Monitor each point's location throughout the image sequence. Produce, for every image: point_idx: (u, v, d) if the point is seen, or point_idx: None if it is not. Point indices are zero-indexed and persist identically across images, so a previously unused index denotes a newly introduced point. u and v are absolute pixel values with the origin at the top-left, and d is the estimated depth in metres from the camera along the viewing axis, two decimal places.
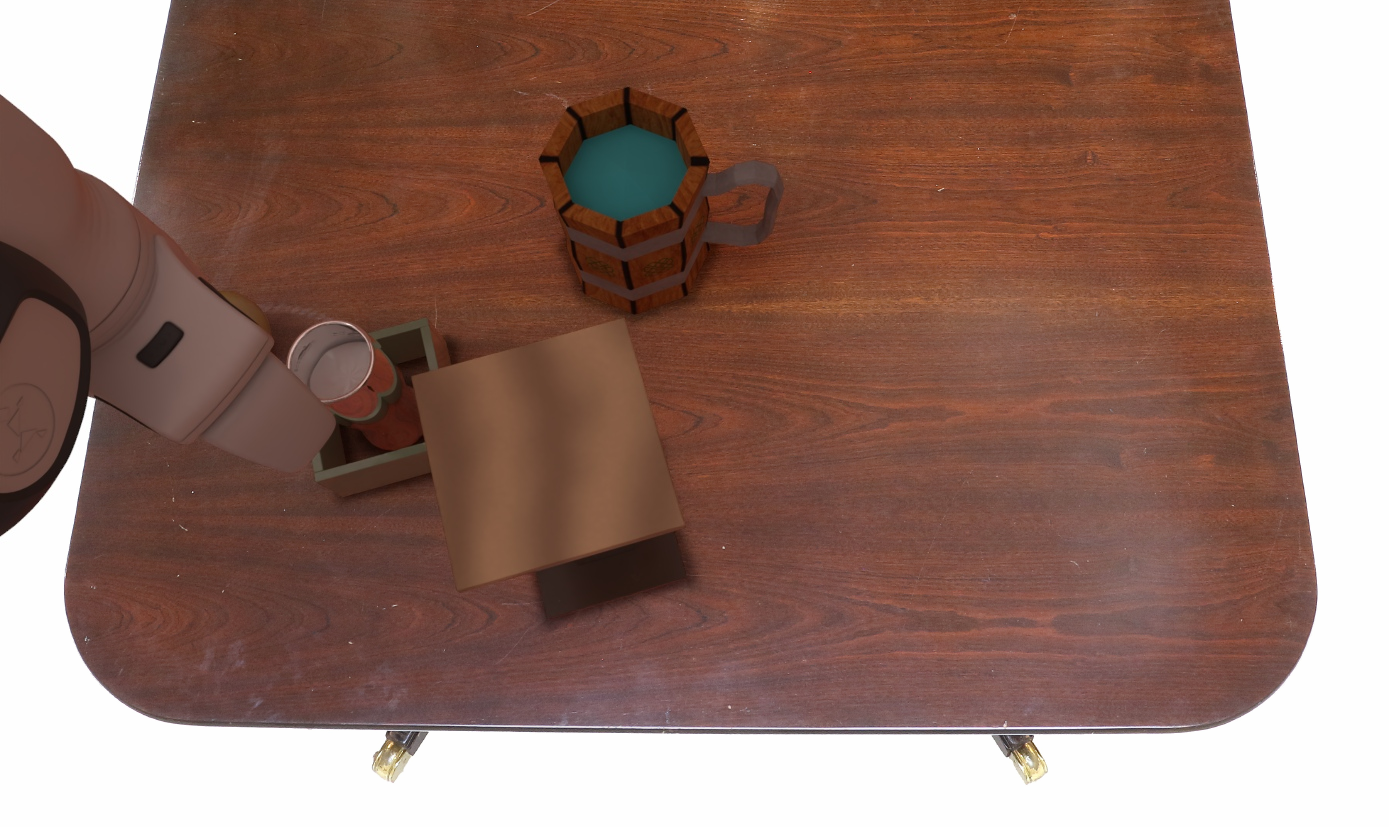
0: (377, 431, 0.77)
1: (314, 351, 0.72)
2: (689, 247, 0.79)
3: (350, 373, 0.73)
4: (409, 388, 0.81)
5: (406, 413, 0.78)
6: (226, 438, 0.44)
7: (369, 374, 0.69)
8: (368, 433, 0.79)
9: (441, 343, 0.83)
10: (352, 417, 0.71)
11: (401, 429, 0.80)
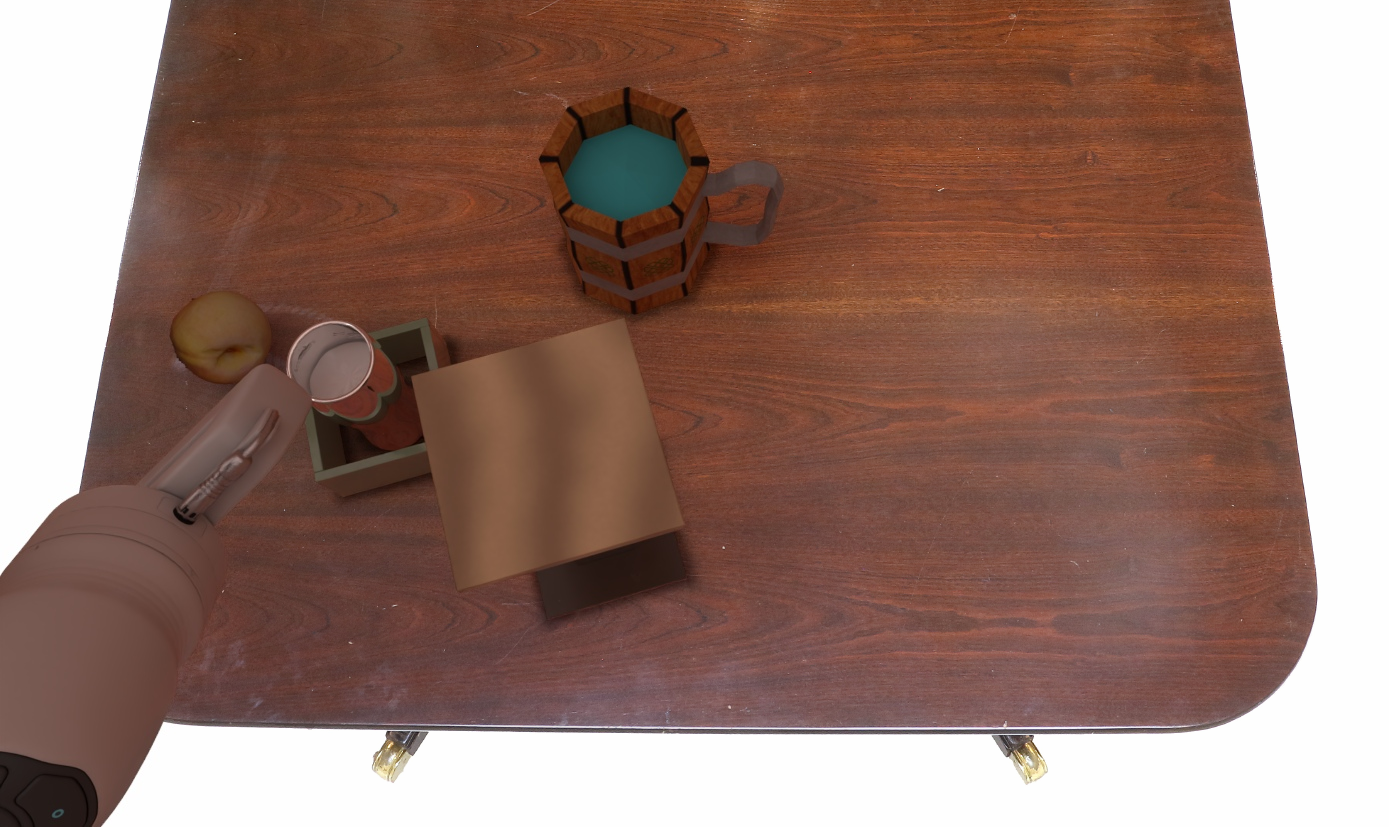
0: (377, 431, 0.77)
1: (314, 351, 0.72)
2: (689, 247, 0.79)
3: (350, 373, 0.73)
4: (409, 388, 0.81)
5: (406, 413, 0.78)
6: None
7: (369, 374, 0.69)
8: (368, 433, 0.79)
9: (441, 343, 0.83)
10: (352, 417, 0.71)
11: (401, 429, 0.80)
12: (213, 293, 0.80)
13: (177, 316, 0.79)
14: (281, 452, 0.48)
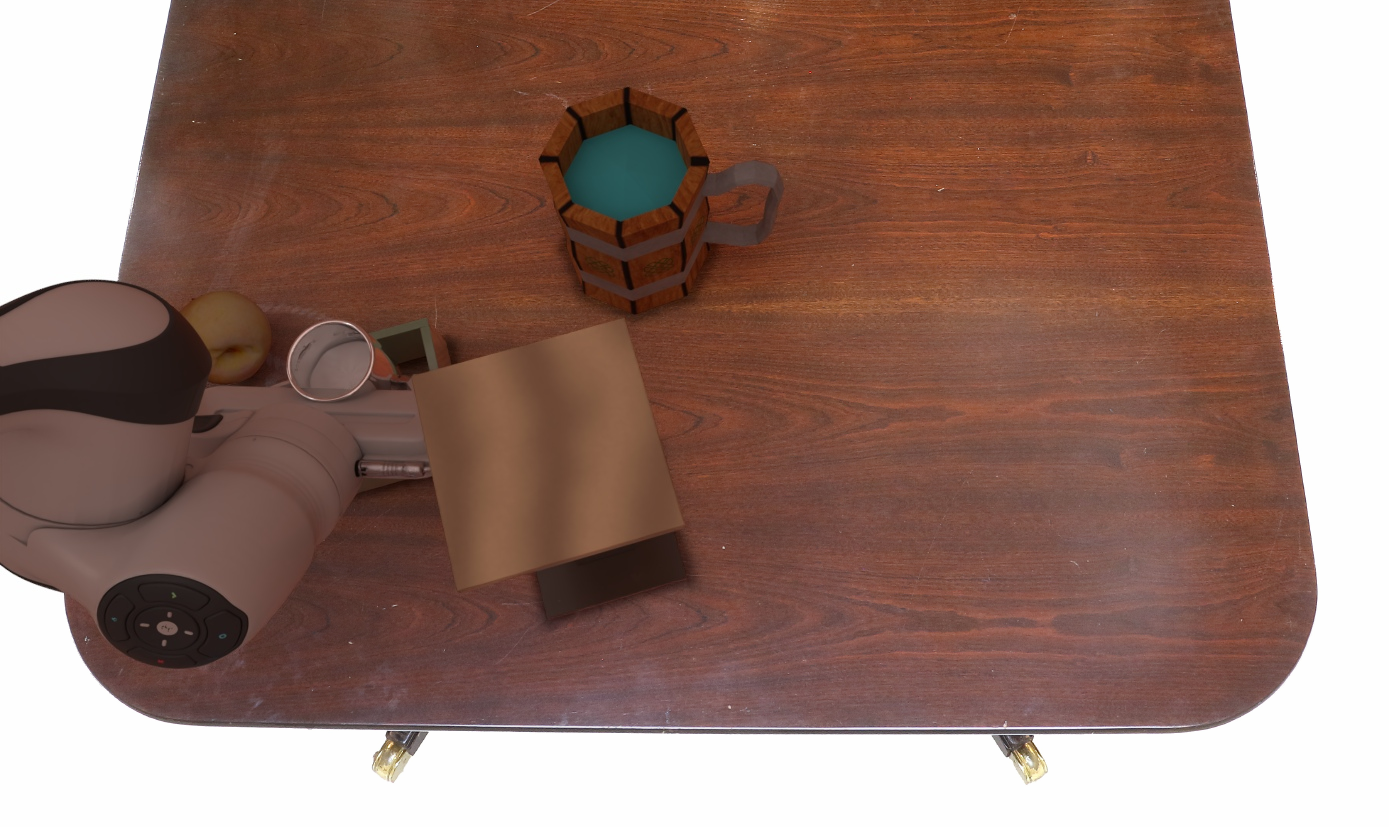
0: None
1: (314, 351, 0.72)
2: (689, 247, 0.79)
3: (350, 372, 0.73)
4: None
5: None
6: None
7: (369, 374, 0.69)
8: None
9: (441, 343, 0.83)
10: None
11: None
12: (213, 293, 0.80)
13: None
14: None
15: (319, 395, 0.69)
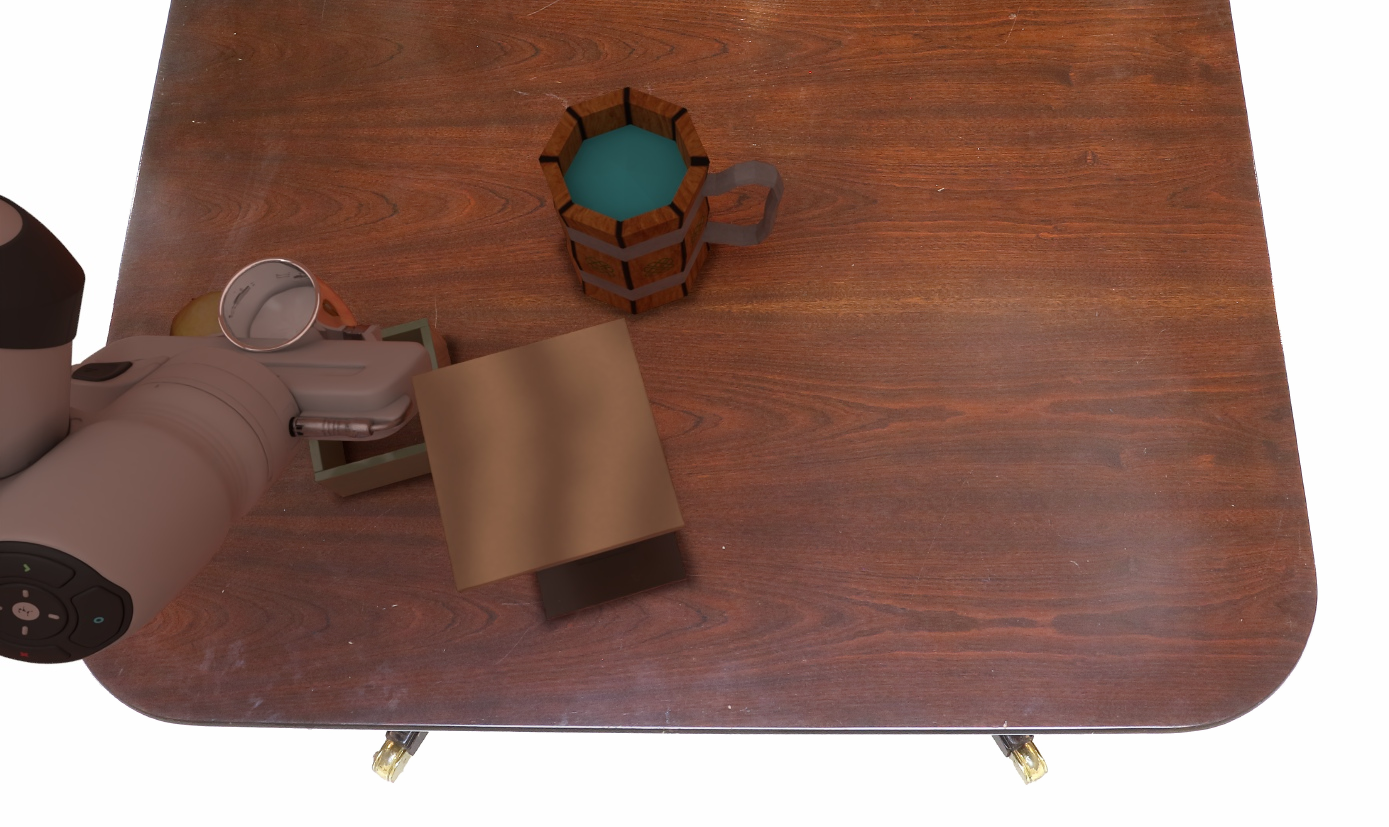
0: None
1: (254, 296, 0.62)
2: (689, 247, 0.79)
3: (296, 321, 0.63)
4: None
5: None
6: None
7: (314, 319, 0.58)
8: None
9: (441, 343, 0.83)
10: None
11: None
12: (213, 293, 0.80)
13: (177, 316, 0.79)
14: (391, 433, 0.56)
15: (256, 345, 0.59)
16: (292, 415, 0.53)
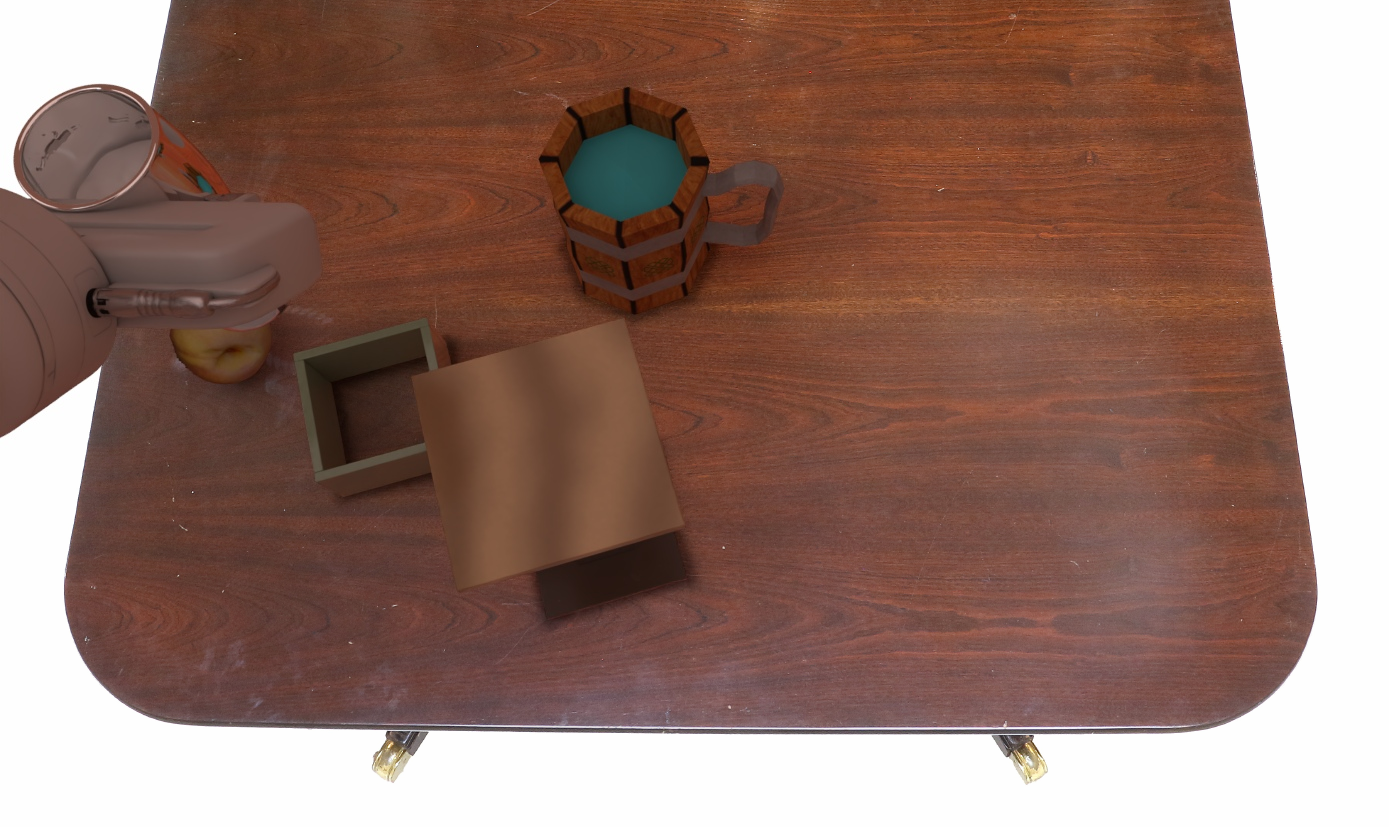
0: None
1: (80, 148, 0.45)
2: (689, 247, 0.79)
3: None
4: None
5: None
6: None
7: (148, 167, 0.41)
8: None
9: (441, 343, 0.83)
10: None
11: None
12: None
13: None
14: (248, 319, 0.39)
15: None
16: (94, 286, 0.36)
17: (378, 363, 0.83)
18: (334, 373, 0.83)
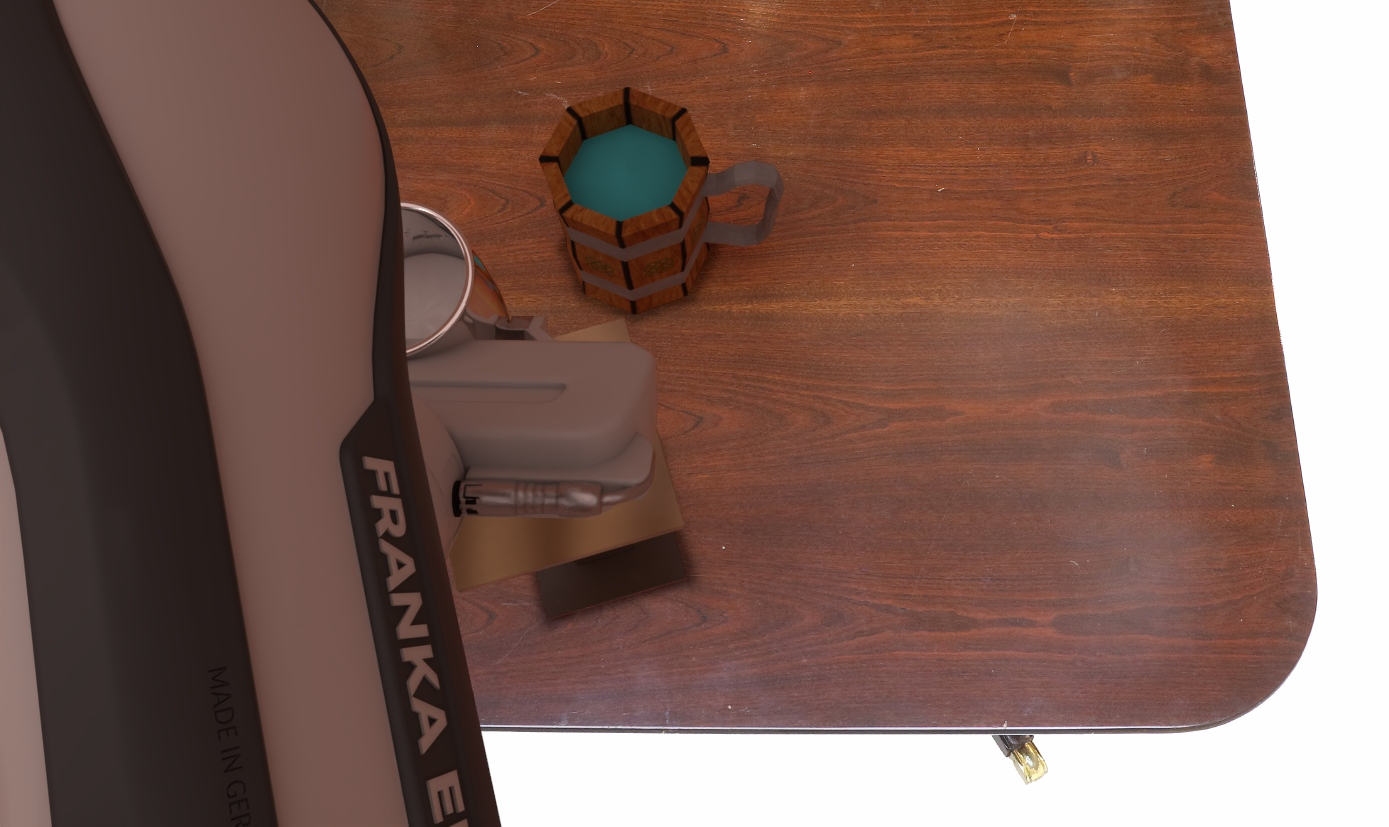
0: None
1: None
2: (689, 247, 0.79)
3: (419, 310, 0.38)
4: None
5: None
6: None
7: (465, 304, 0.34)
8: None
9: None
10: None
11: None
12: None
13: None
14: (617, 503, 0.32)
15: None
16: (455, 477, 0.29)
17: None
18: None
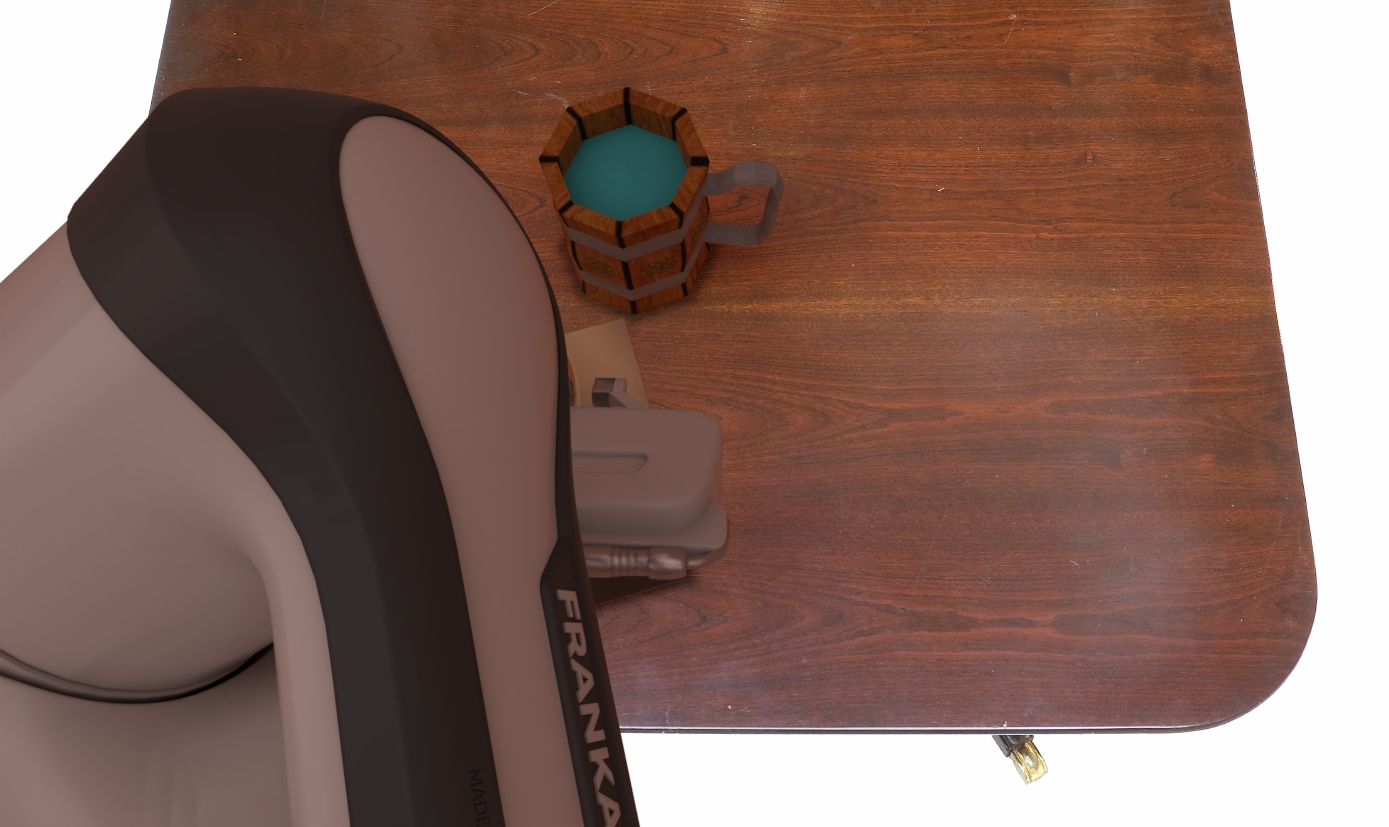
0: None
1: None
2: (689, 247, 0.79)
3: None
4: None
5: None
6: None
7: None
8: None
9: None
10: None
11: None
12: None
13: None
14: None
15: None
16: None
17: None
18: None
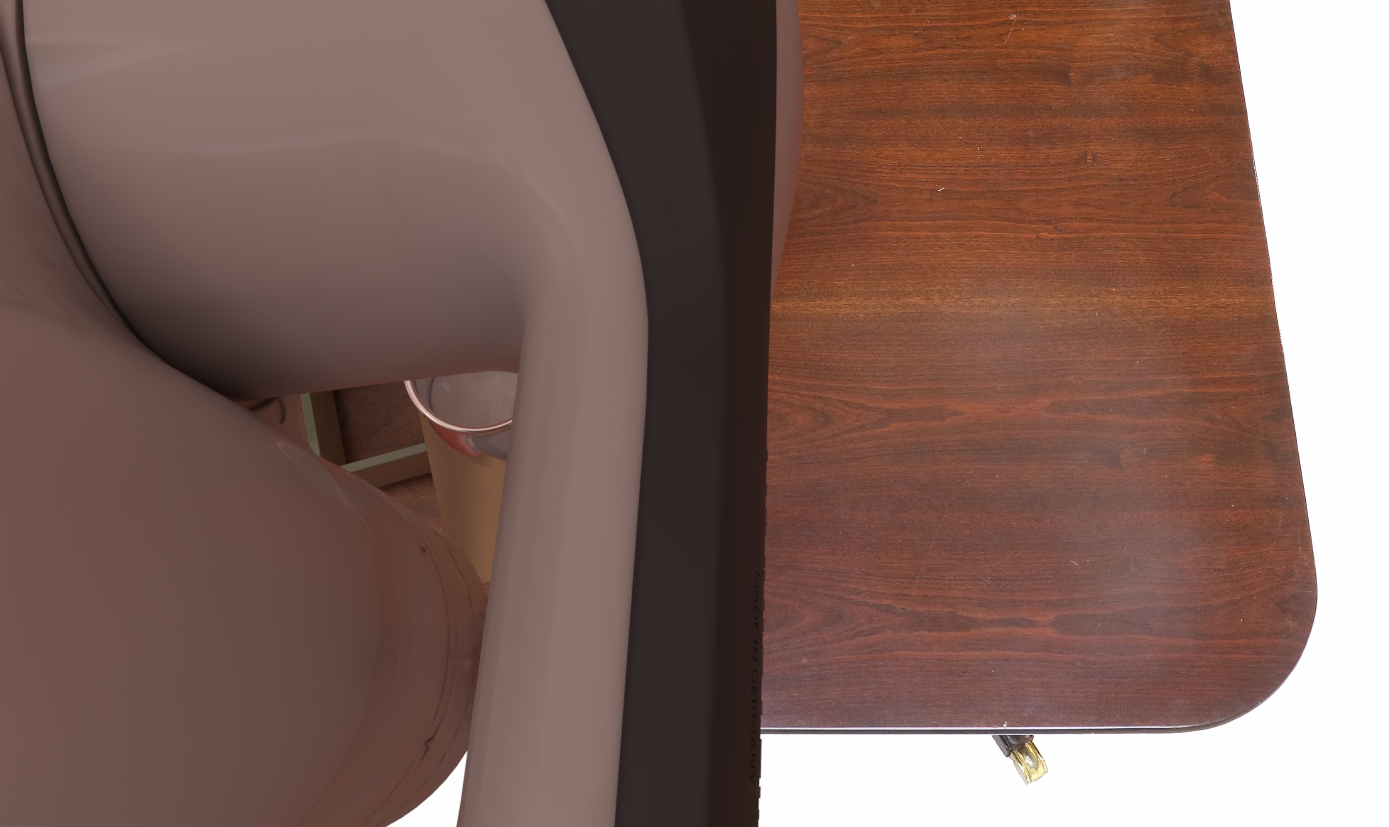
0: None
1: None
2: None
3: (500, 380, 0.43)
4: None
5: None
6: None
7: None
8: None
9: None
10: None
11: None
12: None
13: None
14: None
15: None
16: None
17: None
18: None
